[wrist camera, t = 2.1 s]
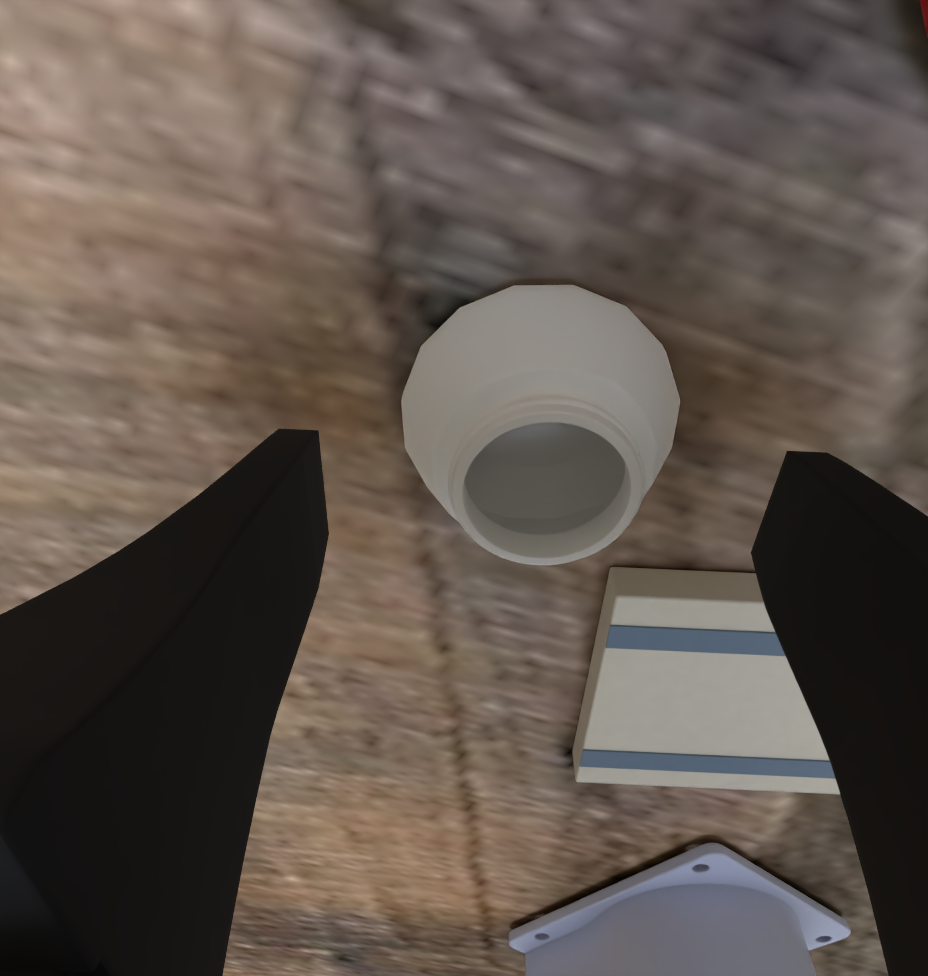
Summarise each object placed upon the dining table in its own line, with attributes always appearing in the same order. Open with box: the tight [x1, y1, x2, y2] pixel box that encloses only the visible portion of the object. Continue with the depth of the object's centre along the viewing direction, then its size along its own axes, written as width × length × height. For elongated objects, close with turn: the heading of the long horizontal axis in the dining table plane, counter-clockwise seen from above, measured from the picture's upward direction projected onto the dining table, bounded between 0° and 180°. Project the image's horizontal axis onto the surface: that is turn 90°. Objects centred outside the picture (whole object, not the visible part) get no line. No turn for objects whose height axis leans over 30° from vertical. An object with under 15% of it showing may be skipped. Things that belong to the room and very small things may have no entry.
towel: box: [572, 567, 840, 794], centre depth 18 cm, size 7×10×1 cm
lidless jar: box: [401, 285, 680, 565], centre depth 13 cm, size 5×3×5 cm
